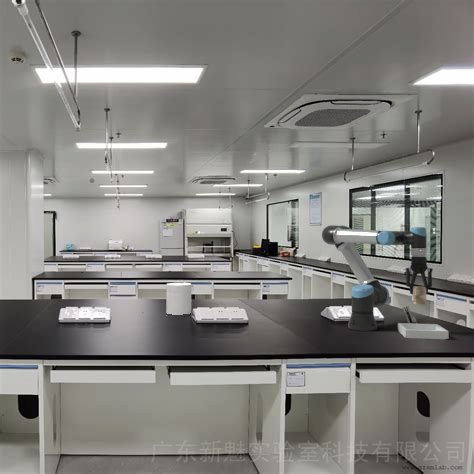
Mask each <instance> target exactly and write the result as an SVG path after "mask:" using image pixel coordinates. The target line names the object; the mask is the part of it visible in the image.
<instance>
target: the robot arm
mask: <svg viewBox="0 0 474 474" xmlns="http://www.w3.org/2000/svg"><path fill="white" fill-rule="evenodd" d="M321 238H322V240H323V242H324V243H326V244H327V245H330V246H331V245H334V247H335V248H336V250H337V251H338V252H341V254H342V255H343V257H344V258H345V260H346V262H347V264H348V265H349V267H350V269H351V271H352V273H353V275H354V277H355V278H356V280H357V282H358V283H359V284H358V285H354V286H353V287H352V288H351V292H350V295H351V315H350V317H349V321H348V323H347V325H348V329H350V330H353V331H354V330H355V331H360V332H366V331H367V332H368V331H369V332H370V331H371V332H372V331H376V330H377V329H378V325H377V324H378V323H377V321H376V318H375V316H374V314H375V313H374V309H375V308H376V307H378V308H379V307H382V306H383V305H386V304H387V303H388V302H389V300H390V292H389V289H388V288H387V287H386V286H384V285H382V284H381V283H380V281H379V279H376V278H374V276H373V274H372V273H371V271H370V269H369V267H368V266H367V264H366V263H365V261H364V259H363V257H362V256H361V254H360V253H359V252H360V251H358V249H357V248H356V246H355V244H362V245H365V244H366V245H367V244H368V245H380V246H381V245H382V246H410V256H411V257H410V267H406V268H404V269H405V272H406V273H405V275H406V277H405V278H406V279H405V280H406V281H405V287H407V288H409V294H410V295H411V300H412V302H413V301H415V288H413V287H414V286H415V283H416V277H417V276H418V275H421V279H422V282H423V287H425V302H426V301H427V295H428V294H429V288H432V286H433V274H432V273H433V270H434V269H433V268H432V267H428V265H427V228H426V227H423V226H417V227H416V226H414V227H411V228H410V230H402V231H401V230H372V229H352V228H351V227H349V226H346V225H328V226H325V227H324V228H323V230H322V233H321ZM411 271H412V276H411ZM426 271H427V276H426ZM426 277H427V278H426Z"/></svg>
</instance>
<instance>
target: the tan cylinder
mask: <svg viewBox="0 0 474 474" xmlns="http://www.w3.org/2000/svg"><path fill="white" fill-rule="evenodd" d="M413 288H415V301H413V300H412V304H413V305H426V304H427V303H426V301H425V287H424V285H423V286H422V285H421V286H420V285H418V286H417V285H414V287H413Z"/></svg>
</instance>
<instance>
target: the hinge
mask: <svg viewBox="0 0 474 474" xmlns="http://www.w3.org/2000/svg"><path fill="white" fill-rule="evenodd" d="M402 312H403V313H404V316H405V318H406V321H407V323H411V324H412V323H415V324H418V322H417V319H416V318H415V316H414V315H412V311H411V309H410V307H409V305H406V307H405V306H404V307H402Z"/></svg>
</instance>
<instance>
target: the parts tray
mask: <svg viewBox="0 0 474 474" xmlns="http://www.w3.org/2000/svg"><path fill="white" fill-rule="evenodd" d="M397 331H398V333H400V334H401V335H402V336H403V337H404V338H405V339H419V340H422V339H423V340H445V339H450V337H449V330H447V329H446V328H444V327H442V326H441V325H439V324H437V323H436V324H435V323H417V324H416V323H412V322H411V323H408V322H407V323H405V322H404V323H402V322H398V323H397Z"/></svg>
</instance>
